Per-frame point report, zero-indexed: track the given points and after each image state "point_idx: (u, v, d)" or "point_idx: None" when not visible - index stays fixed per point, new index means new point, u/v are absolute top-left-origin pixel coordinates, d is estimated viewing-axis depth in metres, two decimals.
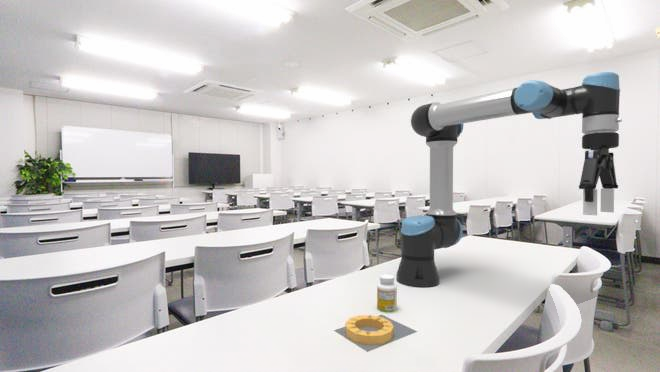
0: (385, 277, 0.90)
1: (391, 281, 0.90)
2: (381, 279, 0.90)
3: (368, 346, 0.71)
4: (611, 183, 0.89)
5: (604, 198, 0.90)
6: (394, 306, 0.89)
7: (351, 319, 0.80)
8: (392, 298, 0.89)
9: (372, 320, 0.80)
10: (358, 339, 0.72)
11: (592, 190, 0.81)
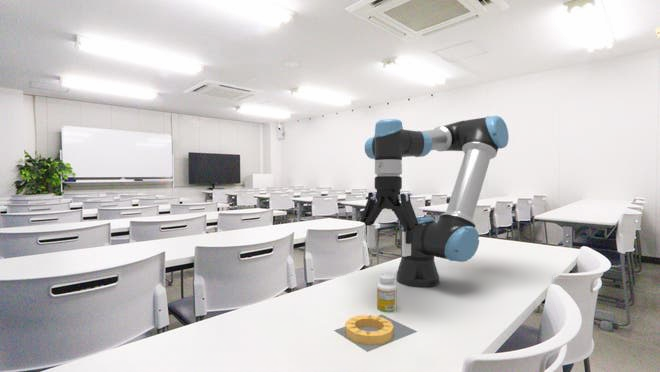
0: (385, 277, 0.90)
1: (391, 281, 0.90)
2: (381, 279, 0.90)
3: (368, 346, 0.71)
4: None
5: None
6: (394, 306, 0.89)
7: (351, 319, 0.80)
8: (392, 298, 0.89)
9: (372, 320, 0.80)
10: (358, 339, 0.72)
11: (367, 226, 0.97)
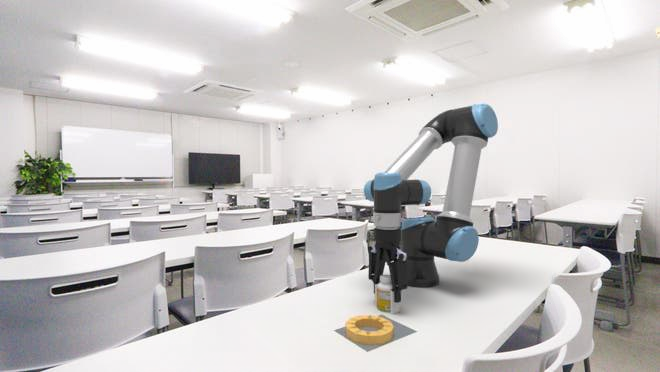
0: (385, 277, 0.90)
1: None
2: (381, 279, 0.90)
3: (368, 346, 0.71)
4: None
5: None
6: None
7: (351, 319, 0.80)
8: None
9: (372, 320, 0.80)
10: (358, 339, 0.72)
11: None
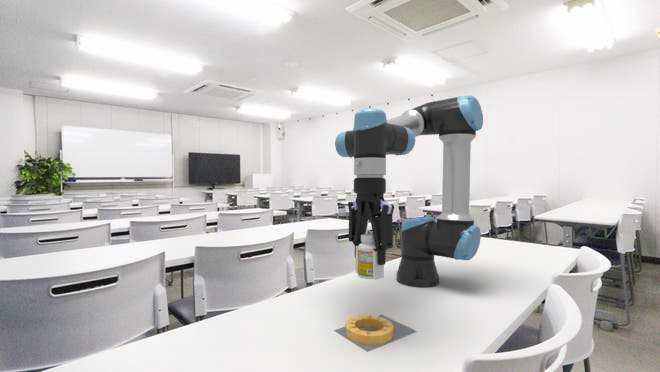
0: (367, 235, 0.76)
1: None
2: (362, 238, 0.76)
3: (368, 346, 0.71)
4: None
5: None
6: None
7: (351, 319, 0.80)
8: None
9: (372, 320, 0.80)
10: (358, 339, 0.72)
11: None
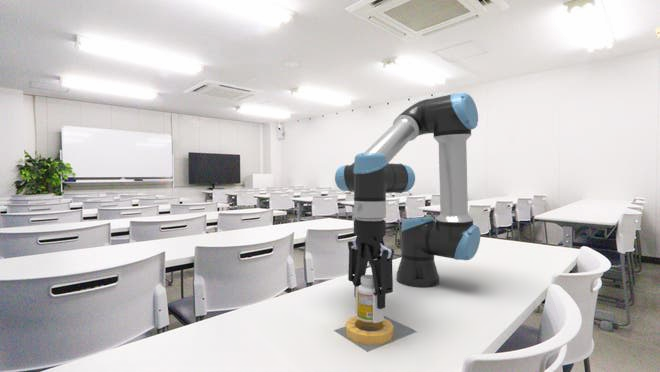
0: (367, 278, 0.76)
1: None
2: (362, 280, 0.76)
3: (368, 346, 0.71)
4: None
5: None
6: None
7: (351, 319, 0.80)
8: None
9: None
10: (358, 339, 0.72)
11: None
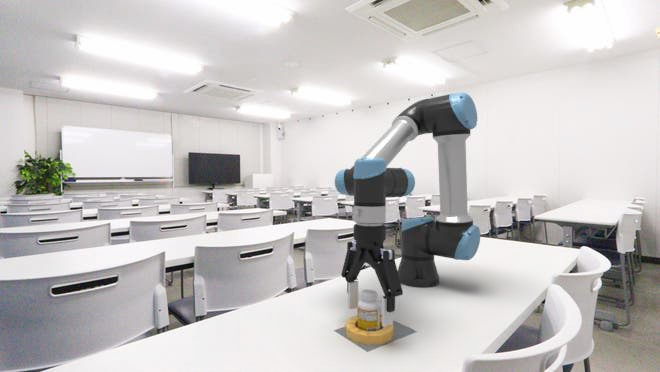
0: (367, 293, 0.76)
1: (373, 298, 0.75)
2: (362, 295, 0.76)
3: (368, 346, 0.71)
4: None
5: None
6: (377, 328, 0.75)
7: (351, 319, 0.80)
8: (375, 319, 0.74)
9: None
10: (358, 339, 0.72)
11: (348, 282, 0.82)
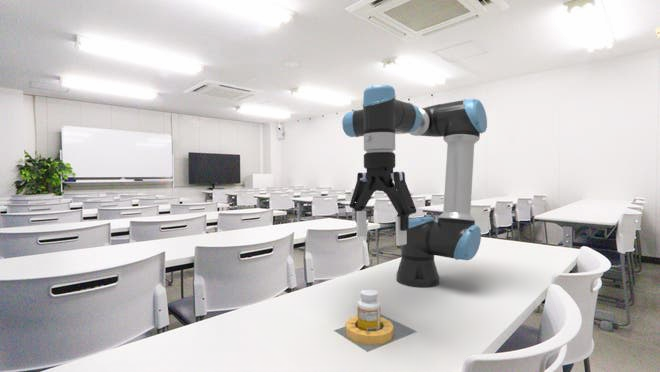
0: (367, 293, 0.76)
1: (374, 298, 0.75)
2: (362, 296, 0.76)
3: (368, 346, 0.71)
4: None
5: None
6: (377, 328, 0.75)
7: (351, 319, 0.80)
8: (375, 319, 0.74)
9: None
10: (358, 339, 0.72)
11: None
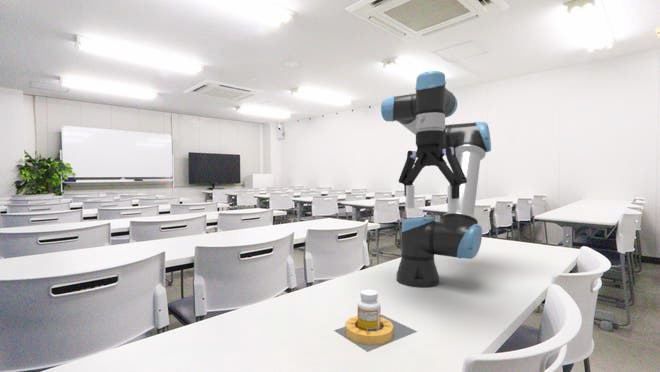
0: (367, 293, 0.76)
1: (374, 298, 0.75)
2: (362, 296, 0.76)
3: (368, 346, 0.71)
4: None
5: None
6: (377, 328, 0.75)
7: (351, 319, 0.80)
8: (375, 319, 0.74)
9: None
10: (358, 339, 0.72)
11: (405, 186, 0.94)
